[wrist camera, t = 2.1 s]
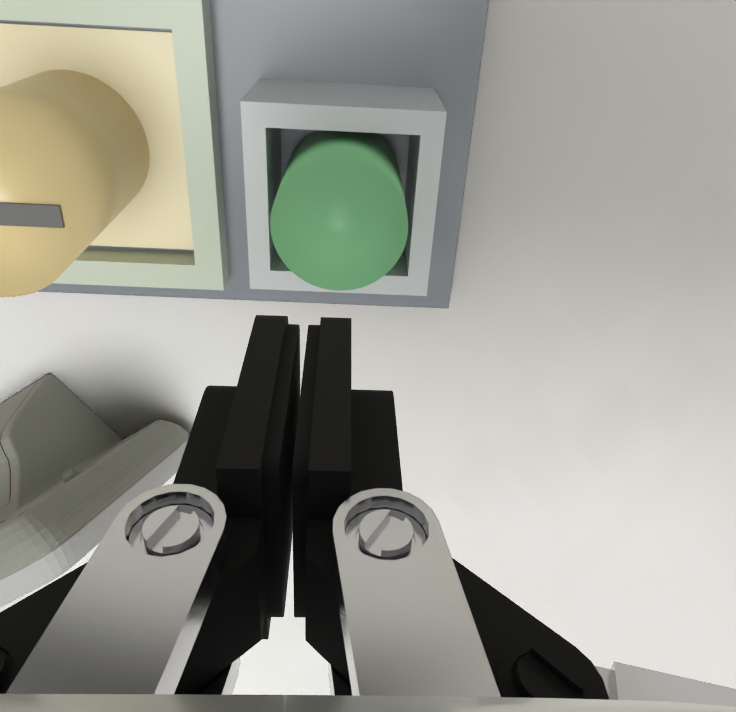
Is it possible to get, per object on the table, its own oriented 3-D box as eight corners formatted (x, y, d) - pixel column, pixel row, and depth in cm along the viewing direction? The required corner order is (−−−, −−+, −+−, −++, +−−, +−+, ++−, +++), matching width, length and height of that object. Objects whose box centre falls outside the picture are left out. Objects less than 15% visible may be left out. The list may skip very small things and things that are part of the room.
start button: (405, 126, 21) (413, 162, 18) (396, 239, 23) (402, 293, 20) (284, 120, 21) (267, 154, 17) (286, 234, 23) (272, 287, 20)
